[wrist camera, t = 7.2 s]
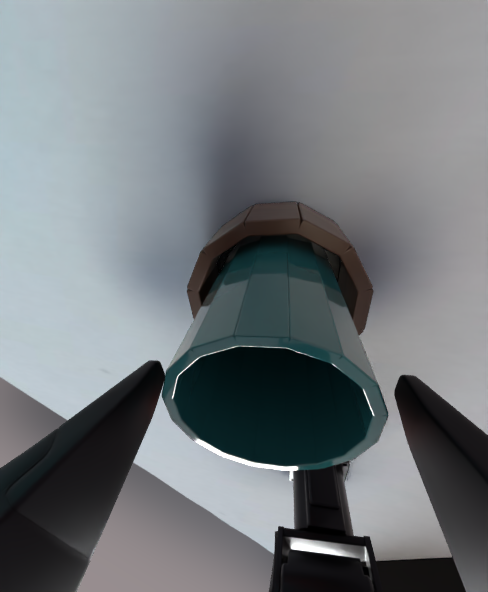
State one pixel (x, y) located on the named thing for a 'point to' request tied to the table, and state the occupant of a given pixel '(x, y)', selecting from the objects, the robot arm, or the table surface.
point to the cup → (276, 363)
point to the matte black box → (420, 576)
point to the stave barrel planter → (286, 222)
